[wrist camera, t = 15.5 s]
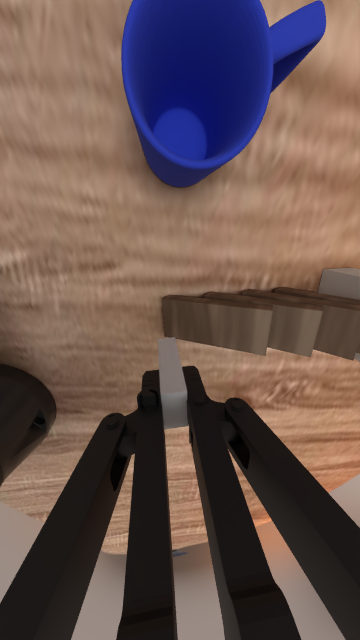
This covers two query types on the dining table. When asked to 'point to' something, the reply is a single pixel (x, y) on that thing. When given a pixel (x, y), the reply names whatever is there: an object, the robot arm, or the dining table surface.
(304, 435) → the dining table surface
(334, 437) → the dining table surface
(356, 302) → the domino
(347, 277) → the block
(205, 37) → the mug
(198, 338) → the domino
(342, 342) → the domino
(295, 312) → the domino
